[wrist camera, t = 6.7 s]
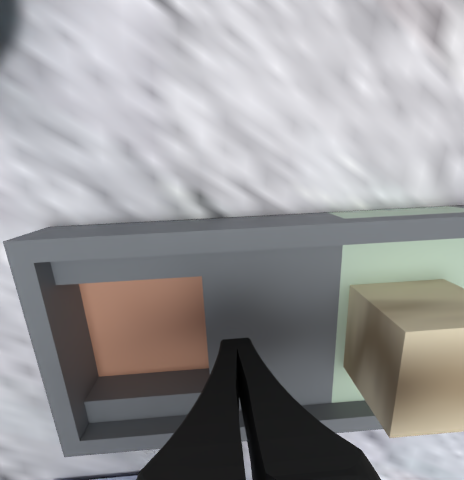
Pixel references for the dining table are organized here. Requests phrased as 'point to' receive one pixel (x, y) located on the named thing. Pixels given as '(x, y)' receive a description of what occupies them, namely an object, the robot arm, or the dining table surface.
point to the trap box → (210, 311)
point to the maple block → (408, 354)
